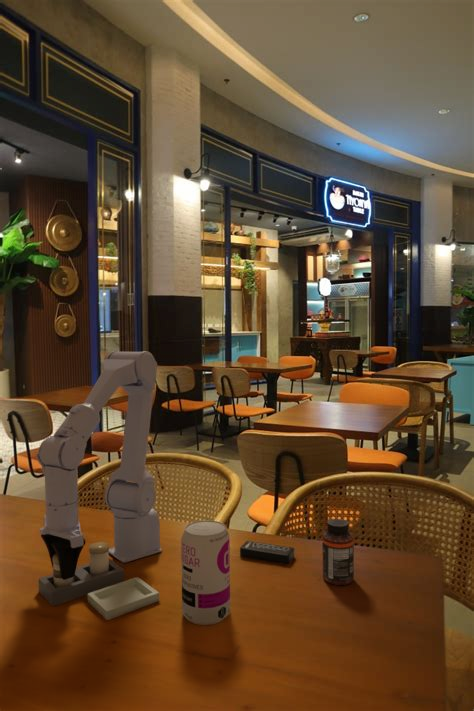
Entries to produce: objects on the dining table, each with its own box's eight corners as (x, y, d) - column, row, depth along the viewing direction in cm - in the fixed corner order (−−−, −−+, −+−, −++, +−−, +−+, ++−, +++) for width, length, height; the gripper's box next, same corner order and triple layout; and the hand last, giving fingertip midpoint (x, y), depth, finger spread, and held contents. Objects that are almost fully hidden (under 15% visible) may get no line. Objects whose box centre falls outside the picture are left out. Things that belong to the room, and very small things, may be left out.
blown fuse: (70, 585, 102) (69, 549, 102) (78, 593, 99) (77, 556, 99) (50, 592, 100) (49, 555, 99) (57, 599, 97) (56, 561, 96)
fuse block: (108, 569, 108) (108, 557, 108) (124, 582, 103) (124, 569, 103) (38, 591, 100) (38, 578, 100) (52, 606, 94) (51, 592, 94)
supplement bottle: (323, 571, 107) (323, 515, 106) (353, 573, 106) (353, 517, 105) (321, 585, 101) (321, 526, 101) (353, 587, 100) (353, 528, 99)
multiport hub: (288, 566, 110) (288, 555, 110) (239, 558, 114) (239, 547, 114) (294, 558, 114) (294, 547, 114) (246, 550, 118) (246, 540, 118)
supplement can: (236, 605, 94) (235, 521, 93) (220, 630, 86) (218, 539, 85) (194, 598, 96) (193, 517, 96) (174, 622, 89) (172, 533, 88)
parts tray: (137, 584, 102) (137, 577, 102) (159, 600, 96) (158, 592, 96) (87, 601, 96) (87, 593, 96) (107, 620, 90) (107, 611, 89)
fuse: (104, 575, 106) (103, 540, 106) (113, 581, 103) (112, 546, 103) (86, 580, 104) (85, 545, 104) (94, 588, 101) (93, 551, 101)
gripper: (27, 496, 102) (29, 566, 102) (54, 516, 90) (56, 595, 91) (63, 489, 106) (65, 556, 107) (94, 507, 95) (95, 582, 95)
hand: (63, 573), depth 99 cm, fingers closed on blown fuse, 4 cm apart
